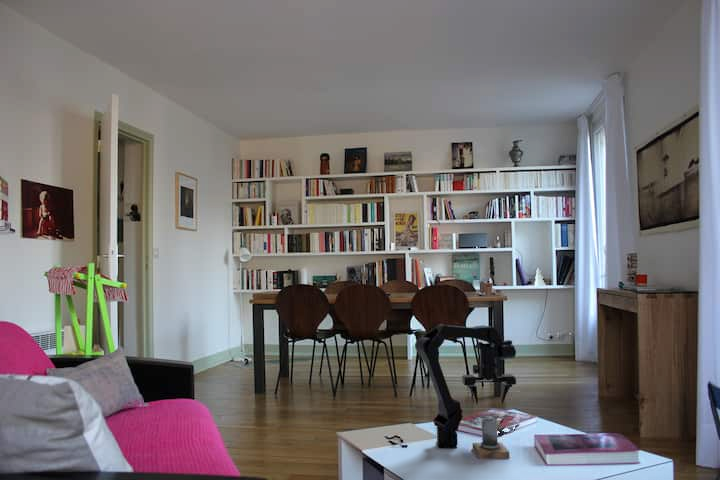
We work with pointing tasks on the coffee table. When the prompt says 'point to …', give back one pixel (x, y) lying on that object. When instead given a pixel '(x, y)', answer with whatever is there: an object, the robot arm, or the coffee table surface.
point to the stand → (490, 451)
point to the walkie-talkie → (502, 425)
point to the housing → (489, 433)
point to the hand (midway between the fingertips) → (489, 403)
